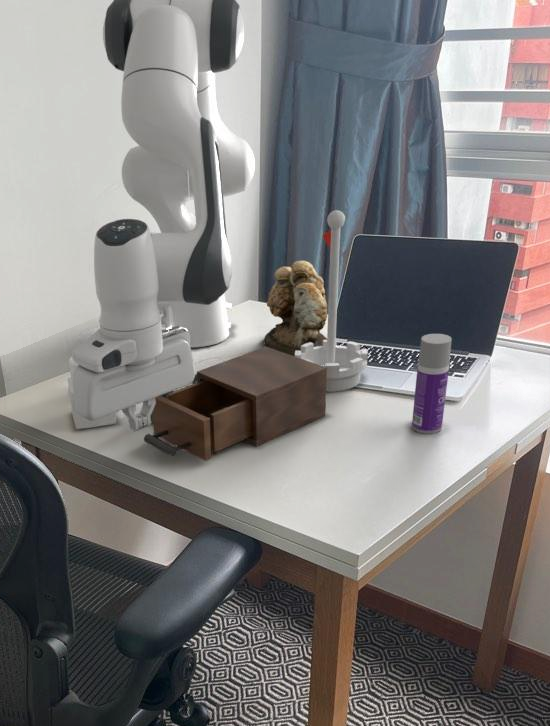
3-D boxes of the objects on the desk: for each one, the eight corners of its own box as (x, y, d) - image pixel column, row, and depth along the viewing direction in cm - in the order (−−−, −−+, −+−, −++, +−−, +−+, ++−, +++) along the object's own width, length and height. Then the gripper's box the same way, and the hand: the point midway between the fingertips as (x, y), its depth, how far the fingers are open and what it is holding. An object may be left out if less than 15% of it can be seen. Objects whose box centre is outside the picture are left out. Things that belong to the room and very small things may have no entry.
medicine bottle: (111, 408, 152) (103, 345, 145) (116, 424, 146) (109, 359, 140) (72, 414, 151) (63, 350, 145) (76, 430, 145) (67, 365, 139)
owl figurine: (247, 340, 175) (246, 258, 166) (294, 328, 179) (295, 247, 170) (297, 366, 162) (299, 277, 152) (346, 352, 166) (351, 265, 156)
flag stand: (378, 386, 151) (391, 212, 134) (311, 398, 148) (316, 223, 132) (346, 361, 161) (355, 198, 145) (283, 373, 159) (285, 208, 143)
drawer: (183, 470, 128) (181, 430, 124) (132, 442, 138) (128, 403, 134) (274, 431, 137) (274, 392, 133) (220, 407, 146) (218, 370, 142)
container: (440, 434, 133) (451, 344, 125) (410, 432, 135) (419, 343, 126) (442, 422, 137) (453, 333, 128) (413, 420, 138) (421, 332, 130)
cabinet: (256, 446, 135) (256, 396, 130) (198, 419, 145) (196, 371, 140) (325, 416, 142) (327, 367, 137) (265, 392, 152) (265, 346, 148)
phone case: (179, 374, 164) (222, 399, 151) (179, 366, 163) (222, 390, 150) (218, 363, 167) (263, 387, 154) (217, 355, 166) (263, 378, 154)
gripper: (175, 317, 128) (180, 401, 135) (62, 354, 118) (74, 441, 126) (201, 326, 123) (205, 412, 131) (85, 365, 114) (97, 455, 121)
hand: (140, 427), depth 128 cm, fingers closed
